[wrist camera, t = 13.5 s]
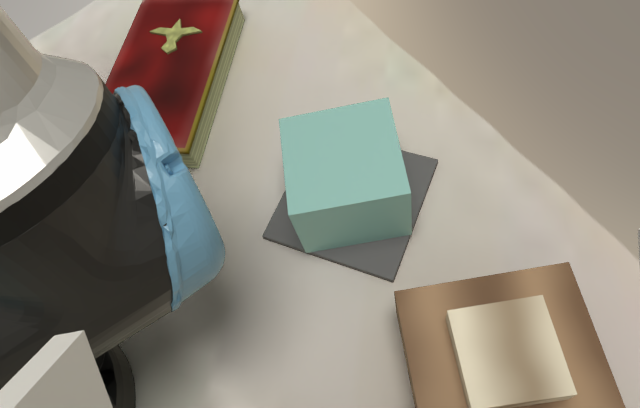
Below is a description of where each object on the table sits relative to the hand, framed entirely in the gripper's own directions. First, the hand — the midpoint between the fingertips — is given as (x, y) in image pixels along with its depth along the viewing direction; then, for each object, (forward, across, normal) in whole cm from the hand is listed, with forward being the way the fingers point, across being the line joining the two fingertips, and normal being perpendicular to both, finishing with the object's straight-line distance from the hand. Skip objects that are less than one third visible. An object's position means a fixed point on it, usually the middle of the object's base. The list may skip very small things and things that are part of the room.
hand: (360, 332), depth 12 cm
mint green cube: (+33, 0, -6) cm, 33 cm away
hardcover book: (+47, -17, +6) cm, 50 cm away
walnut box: (+22, +8, -18) cm, 29 cm away
